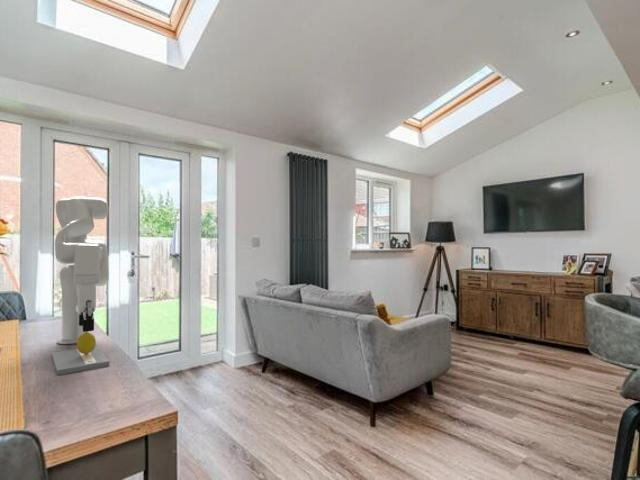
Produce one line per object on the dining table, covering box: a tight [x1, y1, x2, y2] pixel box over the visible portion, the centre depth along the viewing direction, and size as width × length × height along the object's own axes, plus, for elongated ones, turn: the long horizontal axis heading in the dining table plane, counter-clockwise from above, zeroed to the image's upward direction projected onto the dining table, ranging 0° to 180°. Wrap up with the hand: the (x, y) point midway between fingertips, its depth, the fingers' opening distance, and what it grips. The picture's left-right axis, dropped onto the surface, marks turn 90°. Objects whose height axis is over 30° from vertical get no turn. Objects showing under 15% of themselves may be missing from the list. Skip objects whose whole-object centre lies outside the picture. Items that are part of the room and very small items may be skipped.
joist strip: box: [76, 348, 96, 364], centre depth 126 cm, size 22×3×1 cm, turn 40°
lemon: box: [76, 332, 97, 355], centre depth 127 cm, size 6×6×8 cm
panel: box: [51, 345, 110, 376], centre depth 125 cm, size 24×14×2 cm, turn 40°
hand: (86, 328), depth 127 cm, fingers open, 9 cm apart
